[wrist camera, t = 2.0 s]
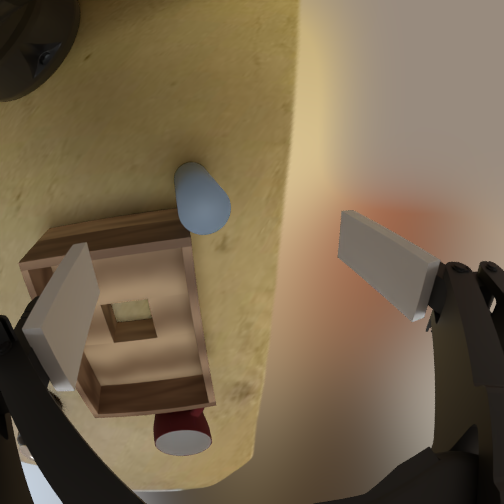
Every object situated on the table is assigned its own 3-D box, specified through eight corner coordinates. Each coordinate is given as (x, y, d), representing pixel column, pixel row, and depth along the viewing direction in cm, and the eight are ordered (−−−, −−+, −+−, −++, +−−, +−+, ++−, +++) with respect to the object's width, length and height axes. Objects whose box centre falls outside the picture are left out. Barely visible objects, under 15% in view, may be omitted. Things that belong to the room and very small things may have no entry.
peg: (172, 164, 29) (175, 186, 19) (206, 160, 30) (229, 180, 19) (175, 197, 31) (180, 237, 20) (208, 193, 31) (232, 231, 21)
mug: (165, 359, 39) (171, 415, 30) (215, 372, 42) (230, 424, 34) (145, 400, 42) (148, 451, 33) (189, 410, 45) (199, 458, 36)
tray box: (49, 228, 28) (18, 263, 20) (184, 207, 31) (190, 237, 23) (100, 369, 37) (95, 417, 29) (204, 357, 41) (216, 405, 33)
